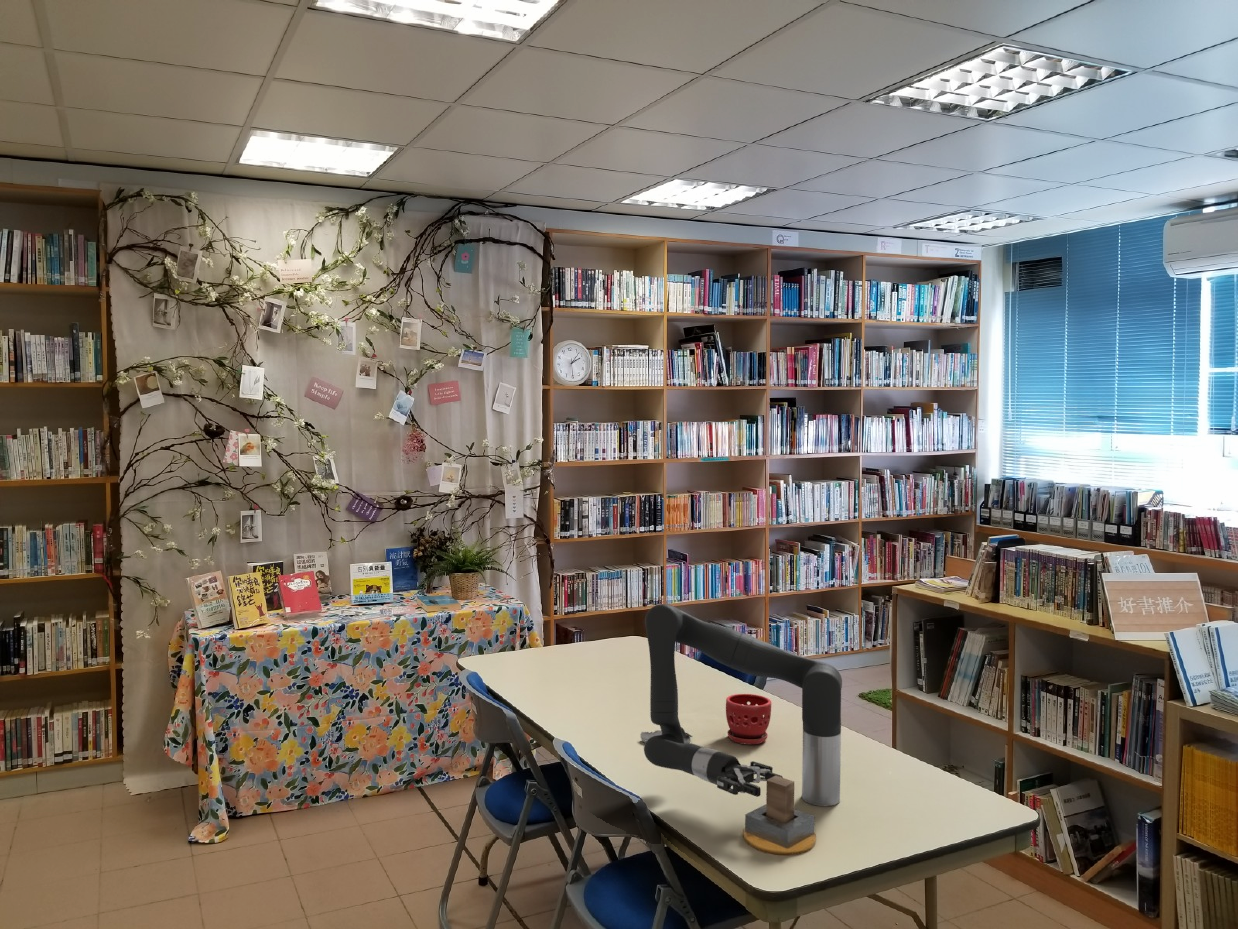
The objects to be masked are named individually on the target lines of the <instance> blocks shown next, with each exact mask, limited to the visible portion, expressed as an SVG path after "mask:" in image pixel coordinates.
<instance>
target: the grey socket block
mask: <svg viewBox="0 0 1238 929" xmlns="http://www.w3.org/2000/svg"><path fill="white" fill-rule="evenodd" d="M744 816H745V817H744V828H743V839H744V841H745V843H747V845H749V846H750V847H752V848H754V849H755V850H758V851H760V852H764V853H766V854H772V855H779V856H792V855H799V854H803V852H804V853H806V852H809V851H811V850H812V849H813V848H814V847H815V845H816V843H817V836H816V834H817V833H816V832H815V815H812V814H809V813H806V812H804V811H801V810H797V809H795V808H794V819H793V820H791V821H789V822H788V823H786V824H784V823H782V822H779V821H777V820H774V819H771V818H769V817H766V804H764V805H761V806H759V807H757V808H755V809H753V810H752V811H750V812H748V813H747V812H746V814H744Z"/></svg>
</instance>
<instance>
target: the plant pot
mask: <svg viewBox="0 0 1238 929" xmlns="http://www.w3.org/2000/svg"><path fill="white" fill-rule="evenodd" d="M748 703H750V704H748ZM725 716H726V717H725V718H726V723H727V725H728V728H729V729H728V730H727V735H728V738H729V739H730V740H731V741H733V742H735V743H738V744H741V745H758V744H761V743H764V741H766V740H767V739H768V736H769V735H768V733H767V730H768V728H769V725H770V721H771V717H772V700H771V698H770V699H769V698H768V697H766V696H763V695H760V694H755V693H754V694H753V693H735V694H731V695H728V696H727V697H726V700H725Z"/></svg>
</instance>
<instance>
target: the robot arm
mask: <svg viewBox="0 0 1238 929" xmlns="http://www.w3.org/2000/svg"><path fill="white" fill-rule="evenodd" d="M644 627H645V631H646V637H647V643H648V649H649V661H650V693H649V696H650V698H649V699H650V703H649V706H650V707H649V708H650V710H649V712H650V713H649V714H650V715H649V716H650V722H652V723H653V724H654V725H657V726H659V727H660V731H662V735H657V736H653V737H651V738H649V739H648V740H645V741H646V743H645V742H644V743H645V744H644V746H643V752H644V756H645V758H646V759H647V761H648V762H649V763H650V764H652V765H654V766H657V767H660V768H664V769H668V770H669V769H670V770H675V771H681V772H684V773H687V774H689V775H692V776H695V777H697V778H698V779H700V780H703V781H704V782H708V783H710V784H713V785H716V788H718V789H719V790H722V791H724V792H727V793H729V794H731V795H735V796H736V795H737V796H738V795H739V793H740V794H748V795H751V796H755V797H756V798H758V797H760V796H761V790H762V789H761V787H760V786H759V785H756V784H759V783H760V782H767V780H768V779H770V778H772V777H774V776H779V777H782V778H784V777H783V776H782V775H780V774H778V773H774V772H773V767H772V766H771V765H768V764H764V763H762V762H761V763H760V762H757V761H751V760H750V761H749V763H750V765H747V764H741V763H740V761H739V759H738V758H737V757H736V756H734V755H732V754H728V753H725V752H722V751H720V750H716V749H714V748H708V747H704V746H701V745H698V744H695V743H691V742H690V743H684V738H683V734H682V730H681V727H682V725H681V722H680V719H679V693H678V692H679V691H678V681H677V674H676V664H675V663H676V661H675V653H676V652H675V649H676V643H677V644H681V645H684V646H688V647H691V648H693V649H695V650H697V651H698V652H701V653H703V654H704V655H706V656H707V657H709V658H711V659H713V660H714V661H715V662H717V663H719V664H722V665H724V666H726V667H728V668H730V669H733V670H736V671H738V672H740V673H743V674H745V675H750V676H755V677H761V678H769V679H777V680H780V681H784V682H787V683H790V684H792V685H794V686H796V687H798V688H800V689H802V690H801V692H802V693H801V710H802V711H801V719H802V765H801V766H802V770H801V771H802V772H801V773H802V774H801V775H802V777H801V798H802V800H803V801H805V802H806V803H808V804H809V805H814V806H818V807H819V806H820V807H830V806H831V807H832V806H835V805H838V804H839V803H840V800H841V756H842V753H841V751H842V747H841V746H842V742H841V741H842V740H841V739H842V688H843V679H842V676H841V673H840V672H839V671H838V670H839V669H837V668H835V667H834V666H833V665H832V664H830V663H827V662H823V661H820V660H816V659H814V658H813V659H812V658H808V657H804V656H802V655H797V654H795V653H792V652H789V651H787V650H784V649H782V648H781V647H778V646H777V645H773V644H771V643H769V642H766V641H764V640H761V639H759V638H756V637H755V636H751V635H749V634H746V633H744V632H741V631H738V630H735V629H732V628H729V627H725V626H721V625H718V624H713V623H709V622H706V621H703V620H701V619H699V618H697V617H695V616H693V615H691V614H688V613H687V612H685V611H683V610H681V609H679V608H677V607H676V606H673V605H671V604H668V603H667V604H666V603H660V604H659V603H658V604H656V605H654V606H652V607H651V608H650V609H649V610H648V611H647V613H646V614H645V618H644ZM755 775H756V776H755ZM755 777H756V778H755ZM754 783H755V784H754Z"/></svg>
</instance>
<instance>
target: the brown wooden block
mask: <svg viewBox="0 0 1238 929" xmlns="http://www.w3.org/2000/svg"><path fill="white" fill-rule="evenodd" d="M782 777H783V776H782ZM782 777H779V776H774V777H772V778H770V779H768V780H767V781H766V797H765V798H766V800H765V801H766V802H765V803H766V817H769V818H771V819H774V820H777V821H779V822H782V823H784V824H786V823H788V822H789V821H791V820H793V819H794V809H795V781H793V780H792V779H791V780H790V779H788V778H784V777H783V778H782Z"/></svg>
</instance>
